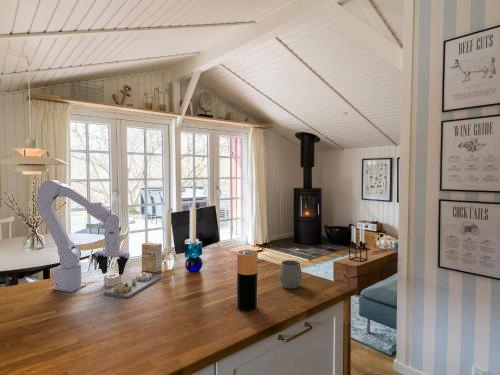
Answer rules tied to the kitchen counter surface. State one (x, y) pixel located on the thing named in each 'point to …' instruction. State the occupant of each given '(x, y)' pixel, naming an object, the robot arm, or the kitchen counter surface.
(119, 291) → the gear board
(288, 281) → the cup
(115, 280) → the loose gear
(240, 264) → the battery
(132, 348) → the kitchen counter surface
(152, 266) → the supplement box
